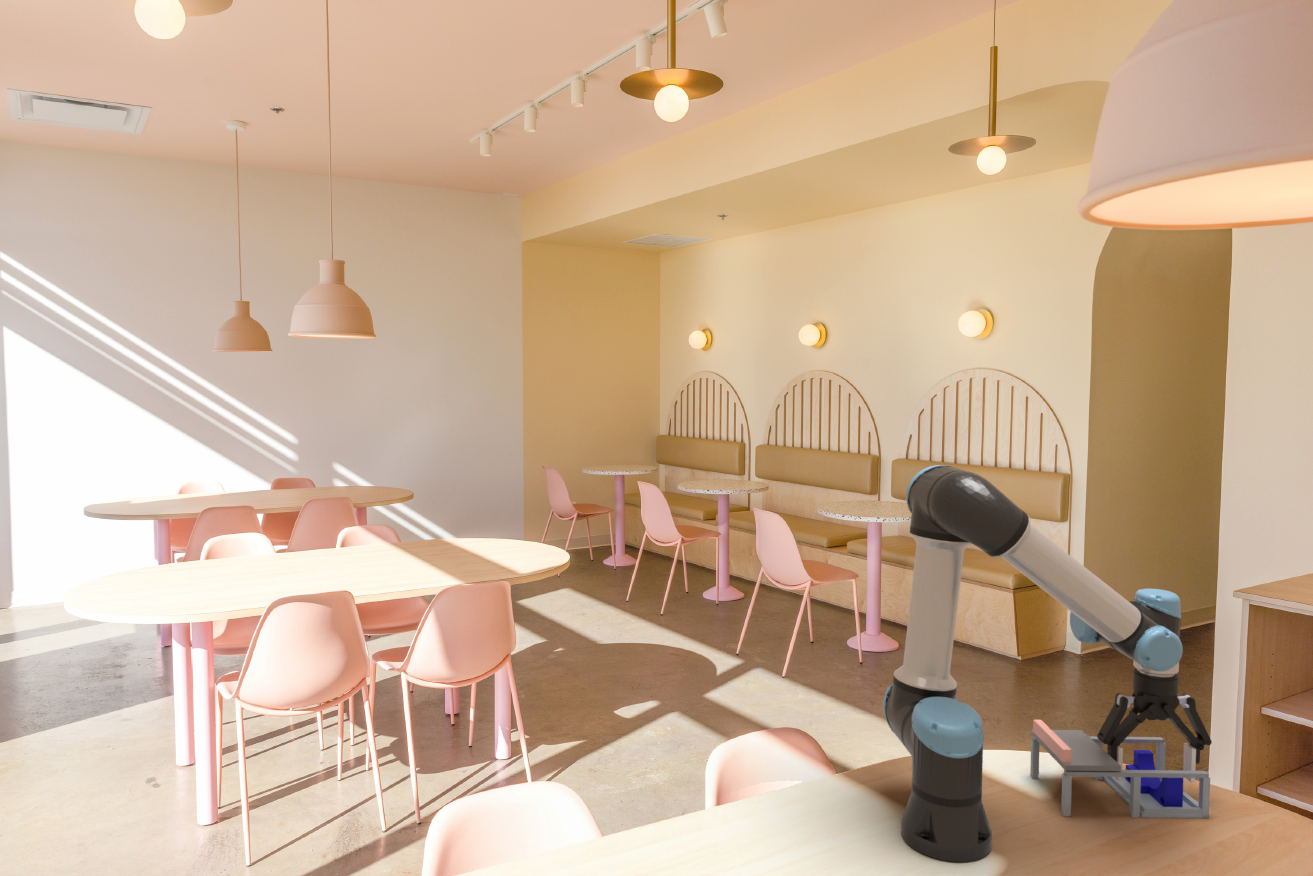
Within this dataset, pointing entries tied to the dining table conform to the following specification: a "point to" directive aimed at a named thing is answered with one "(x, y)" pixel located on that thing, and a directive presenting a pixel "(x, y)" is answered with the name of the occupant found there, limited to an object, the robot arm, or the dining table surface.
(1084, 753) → the lid
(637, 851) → the dining table surface
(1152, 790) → the blue bracket
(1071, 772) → the grey frame rack
